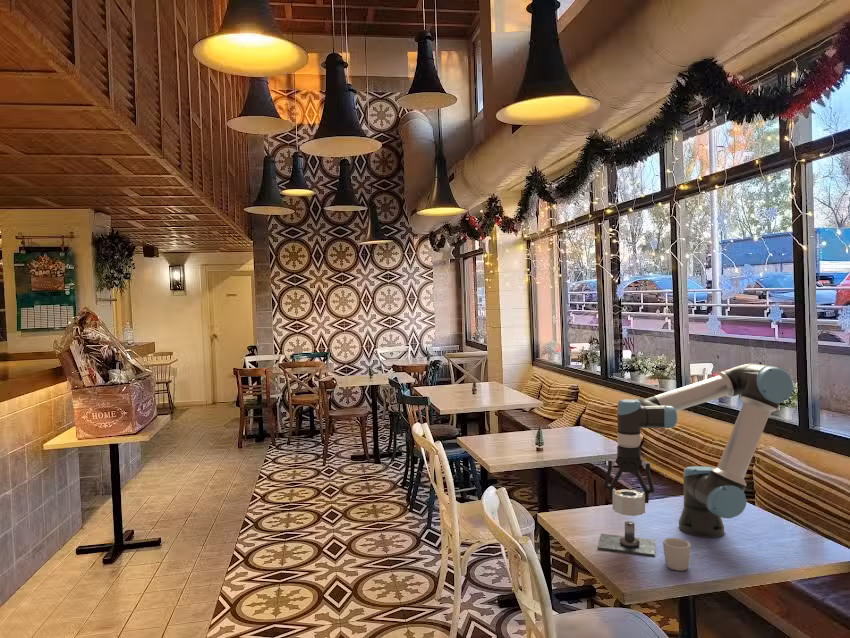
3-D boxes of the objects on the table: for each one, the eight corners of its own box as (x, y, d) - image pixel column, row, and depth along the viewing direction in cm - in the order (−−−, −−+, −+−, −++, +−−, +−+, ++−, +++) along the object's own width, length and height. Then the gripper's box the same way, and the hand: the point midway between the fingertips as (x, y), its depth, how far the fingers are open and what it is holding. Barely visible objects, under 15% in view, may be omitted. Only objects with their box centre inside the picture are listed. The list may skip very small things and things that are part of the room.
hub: (642, 508, 206) (642, 490, 206) (642, 516, 198) (642, 498, 198) (615, 505, 209) (615, 488, 209) (614, 513, 201) (614, 495, 201)
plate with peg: (654, 542, 207) (654, 519, 207) (654, 556, 195) (654, 532, 195) (601, 535, 213) (600, 513, 213) (597, 549, 201) (597, 526, 201)
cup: (654, 559, 193) (654, 534, 193) (678, 558, 194) (677, 533, 193) (671, 574, 182) (670, 548, 182) (695, 572, 183) (695, 546, 183)
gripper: (662, 445, 203) (662, 510, 203) (596, 440, 211) (596, 503, 211) (663, 450, 196) (662, 517, 196) (594, 445, 204) (594, 510, 204)
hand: (628, 510), depth 203 cm, fingers closed on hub, 9 cm apart
